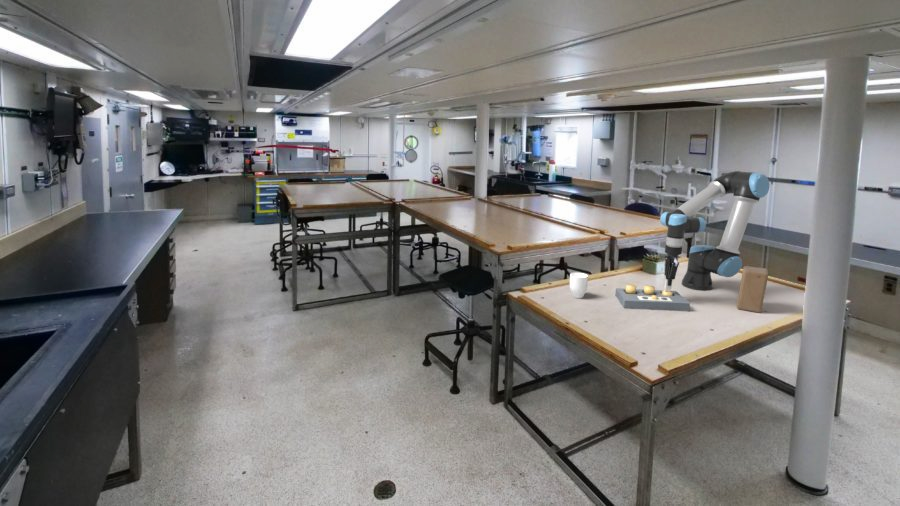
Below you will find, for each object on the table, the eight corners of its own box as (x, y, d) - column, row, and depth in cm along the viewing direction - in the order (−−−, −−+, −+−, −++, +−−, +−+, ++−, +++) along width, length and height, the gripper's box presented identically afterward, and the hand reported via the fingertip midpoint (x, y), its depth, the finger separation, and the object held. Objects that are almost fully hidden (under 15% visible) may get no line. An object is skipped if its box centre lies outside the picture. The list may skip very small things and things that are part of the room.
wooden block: (760, 313, 220) (768, 273, 215) (736, 309, 225) (743, 270, 220) (760, 307, 229) (768, 268, 223) (736, 303, 234) (743, 265, 228)
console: (675, 298, 240) (676, 290, 239) (688, 311, 222) (689, 303, 221) (615, 295, 243) (616, 288, 242) (623, 308, 226) (624, 300, 225)
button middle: (652, 293, 238) (653, 285, 237) (654, 296, 233) (656, 288, 232) (642, 293, 238) (643, 285, 237) (645, 296, 234) (646, 288, 233)
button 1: (633, 292, 239) (634, 284, 238) (636, 296, 234) (637, 287, 233) (624, 292, 239) (625, 284, 238) (626, 295, 235) (627, 287, 234)
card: (668, 298, 228) (669, 295, 228) (672, 301, 224) (672, 298, 223) (637, 296, 230) (637, 293, 230) (640, 300, 225) (640, 297, 225)
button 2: (669, 298, 237) (670, 290, 236) (673, 301, 233) (674, 293, 232) (660, 297, 238) (661, 289, 237) (663, 301, 233) (664, 292, 232)
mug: (589, 299, 237) (590, 276, 234) (573, 300, 236) (574, 278, 233) (579, 291, 248) (580, 270, 245) (564, 292, 247) (565, 271, 244)
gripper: (661, 242, 235) (655, 286, 241) (670, 248, 222) (664, 295, 228) (677, 242, 234) (670, 287, 240) (687, 249, 221) (680, 295, 228)
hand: (667, 291), depth 234 cm, fingers closed
